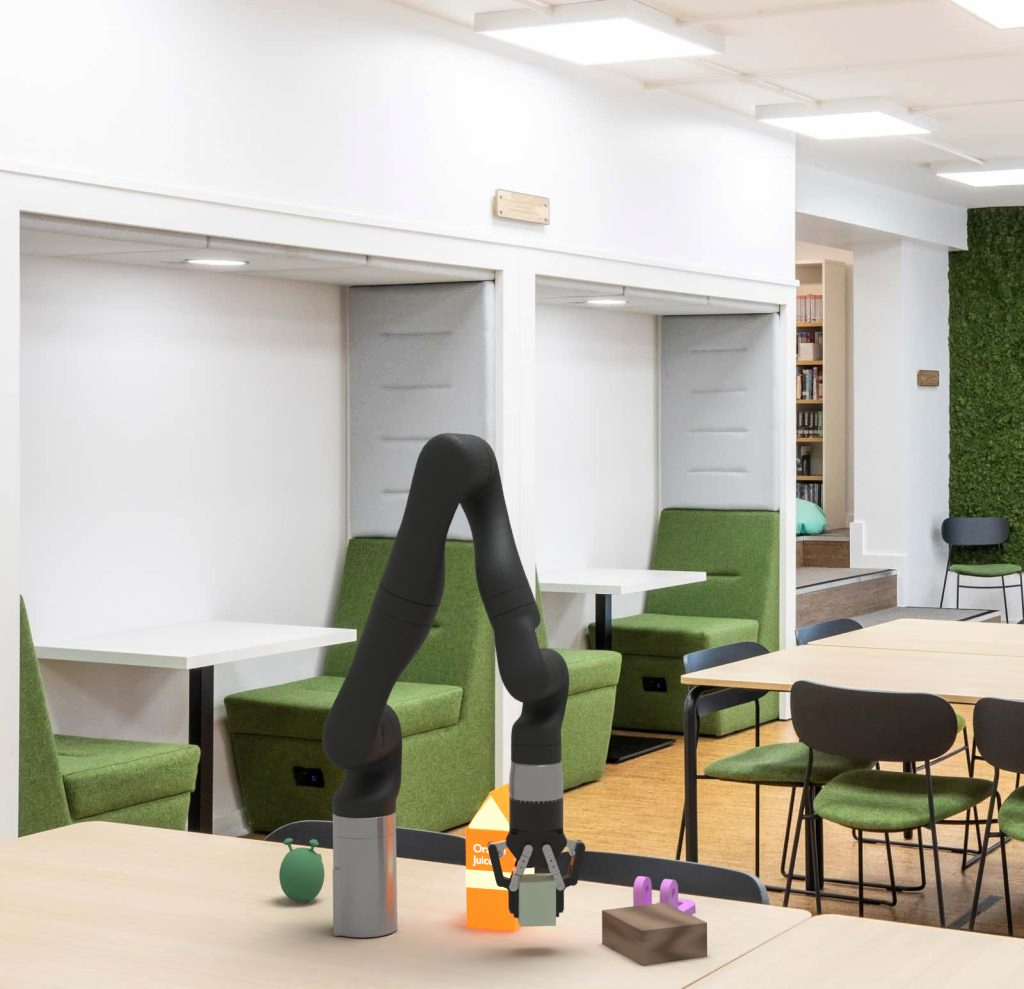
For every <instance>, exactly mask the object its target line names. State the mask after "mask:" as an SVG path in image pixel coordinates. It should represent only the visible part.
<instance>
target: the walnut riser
mask: <svg viewBox="0 0 1024 989" xmlns="http://www.w3.org/2000/svg"><path fill="white" fill-rule="evenodd" d="M656 903H657V902H656ZM656 903H652V904H648V905H640V906H633V905H632V906H627V907H617V908H608V909H602V910H601V945H604V946H605V947H608V948H609V949H611V950H613V951H614V952H616V953H618V954H620V955H622V956H623V957H626V958H627V959H629V960H631V961H633V962H635V963H637V964H638V965H640V966H642V967H646V966H652V965H660V964H666V963H672V962H674V963H675V962H679V961H688V960H694V959H700V958H701V959H702V958H707V957H708V922H706V921H705V920H702V919H700V918H699V917H696V916H694V915H693V914H692V915H690V914H688V913H686V912H683V911H681V910H679V909H677V908H675V907H673V906H671V905H668V904H666V903H657V904H656Z"/></svg>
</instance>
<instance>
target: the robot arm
mask: <svg viewBox="0 0 1024 989" xmlns="http://www.w3.org/2000/svg"><path fill="white" fill-rule="evenodd" d="M411 478H412V479H411V483H410V487H409V492H408V495H407V501H406V504H405V508H404V512H403V515H402V519H401V523H400V525H399V527H398V530H397V534H396V536H395V538H394V541H393V544H392V547H391V550H390V554H389V557H388V559H387V563H386V565H385V567H384V571H383V573H382V576H381V578H380V580H379V584H378V586H377V588H376V590H375V595H374V597H373V599H372V604H371V607H370V609H369V612H368V616H367V618H366V622H365V625H364V627H363V630H362V633H361V635H360V638H359V642H358V644H357V647H356V650H355V653H354V657H353V659H352V661H351V664H350V667H349V669H348V671H347V674H346V676H345V678H344V680H343V682H342V685H341V687H340V689H339V691H338V693H337V695H336V697H335V699H334V701H333V704H332V706H331V708H330V710H329V712H328V714H327V717H326V718H325V721H324V725H323V728H322V734H321V735H322V736H321V742H322V749H323V751H324V754H325V756H326V758H327V760H328V761H329V762H330V764H332V766H335V767H337V768H339V769H342V770H345V775H344V778H343V781H342V782H341V783H340V786H339V787H338V788H337V789H336V791H335V792H334V794H333V796H332V853H333V854H332V856H333V857H332V858H333V859H332V860H333V862H332V864H333V865H332V921H333V922H332V924H333V925H332V926H333V927H332V930H333V934H332V935H333V936H334V937H335V936H342V937H347V938H348V937H350V938H373V937H374V938H376V937H382V936H386V935H389V934H392V933H394V932H396V930H398V885H397V884H398V882H397V881H398V880H397V876H398V875H397V872H398V871H397V867H398V866H397V799H398V796H399V793H400V791H401V785H402V769H403V768H402V767H403V765H402V764H403V732H402V725H401V722H400V719H399V716H398V714H397V713H396V711H395V710H394V708H392V706H390V704H388V701H389V698H390V696H391V694H392V693H391V692H392V690H393V689H394V686H395V685H396V683H397V681H398V680H399V678H400V677H401V676H402V674H403V673H404V671H405V670H406V669H407V667H408V666H409V664H410V663H411V662H412V660H413V659H414V658H415V656H416V655H417V654H418V652H419V650H420V649H421V647H422V646H423V644H424V643H425V641H426V639H427V638H428V636H429V634H430V632H431V629H432V627H433V624H434V622H435V619H436V617H437V613H438V612H439V609H440V605H441V602H442V600H443V595H444V591H445V586H446V585H445V584H446V544H447V538H448V533H449V530H450V527H451V525H452V522H453V520H454V517H455V514H456V512H457V509H458V508H459V505H460V507H461V508H462V510H463V513H464V515H465V517H466V520H467V522H468V526H469V529H470V532H471V536H472V542H473V552H474V570H475V578H476V579H475V580H476V585H477V588H478V594H479V595H480V598H481V599H480V600H481V601H482V604H483V607H484V609H485V610H484V611H485V613H486V615H487V619H488V621H489V624H490V626H491V627H492V628H491V629H492V631H493V636H494V647H495V654H496V661H497V668H498V671H499V672H498V673H499V675H500V679H501V681H502V684H503V686H504V688H505V690H506V691H507V693H508V694H509V695H510V696H511V697H512V698H513V699H514V700H516V701H517V702H520V703H522V704H521V705H522V706H521V712H520V715H519V717H518V718H517V719H516V720H515V721H514V723H513V725H512V726H511V733H510V768H509V769H510V770H509V776H508V778H509V780H508V783H509V787H508V790H509V833H508V835H507V837H506V840H503V841H499V842H493V841H490V842H488V844H487V848H488V852H489V856H490V860H491V864H492V868H493V872H494V877H495V881H496V884H497V886H499V887H504V888H506V889H507V890H508V909H509V911H510V914H513V916H514V918H519V891H518V886H519V881H521V878H522V876H523V874H524V872H525V869H526V868H534V869H535V868H540V869H548V870H549V872H550V873H551V875H552V877H553V880H555V881H556V918H560V914H563V913H564V910H565V890H566V889H568V887H571V886H573V887H575V886H576V885H577V884H578V882H579V879H580V878H579V877H580V874H581V869H582V865H583V860H584V856H585V852H586V845H585V843H584V841H583V840H581V839H577V840H573V839H569V838H567V837H566V834H565V832H564V773H563V766H562V764H563V763H562V726H563V722H564V718H565V714H566V709H567V703H568V697H569V693H570V692H569V690H570V673H569V672H570V671H569V668H568V664H567V662H566V660H565V659H564V657H563V656H562V654H560V652H558V651H557V650H555V649H552V648H548V647H541V648H540V646H539V641H538V637H537V628H538V627H539V626H540V624H541V620H542V619H541V613H540V609H539V607H538V604H537V601H536V599H535V595H534V593H533V591H532V587H531V585H530V582H529V579H528V577H527V574H526V571H525V569H524V565H523V563H522V560H521V558H520V554H519V551H518V546H517V543H516V541H515V537H514V534H513V533H514V532H513V529H512V525H511V521H510V517H509V511H508V508H507V503H506V500H505V494H504V490H503V484H502V479H501V473H500V468H499V465H498V460H497V456H496V454H495V451H494V450H493V448H492V446H491V445H490V444H489V442H487V441H486V440H485V439H483V438H482V437H480V436H477V435H474V434H471V433H470V434H467V433H455V432H445V433H439V434H437V435H434V436H432V438H430V439H429V440H428V441H426V443H425V444H424V446H422V448H421V450H420V452H419V454H418V457H417V460H416V464H415V468H414V470H413V475H412V477H411ZM566 847H567V850H568V851H567V852H568V853H569V855H570V857H571V859H570V863H569V868H568V870H567V875H564V876H562V875H561V871H560V868H559V866H558V862H557V859H558V858H559V857H560V855H561V853H562V852H563V851H564V850H565V848H566ZM505 848H508V849H509V850H510V852H511V853H512V854H513V856H514V857H515V858H516V860H515V863H514V865H513V869H512V872H511V875H510V878H508V877H505V876H503V872H502V868H501V863H500V859H499V858H501V857H503V855H504V850H505Z"/></svg>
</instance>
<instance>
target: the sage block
mask: <svg viewBox="0 0 1024 989" xmlns="http://www.w3.org/2000/svg"><path fill="white" fill-rule="evenodd" d="M518 891H519V918H517V920H518V923H519V926H520V927H521V928H522V927H523V928H524V927H525V928H526V927H556V926H557V917H556V881H555V880H553V877H552V875H551V872H550V873H534V874H523V876H522V878H521V881H519V886H518Z"/></svg>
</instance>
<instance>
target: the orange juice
mask: <svg viewBox="0 0 1024 989" xmlns="http://www.w3.org/2000/svg"><path fill="white" fill-rule="evenodd" d="M508 787H509V782H507V783H506V784H504V785H501V786H500V787H498V788H495V789H493V790H491V791H489V792H488V793H489V794H488V796H487V797H486V798H485V800H484V801H483V802H482V804H481V806H480V808H479V809H478V811H477V812H476V814H474V816H473V818H472V820H471V821H470V823H469V824H468V825H467V827H466V828H465V889H466V892H465V893H466V900H465V901H466V904H465V905H466V928H467V929H477V930H485V931H486V930H489V931H500V932H501V931H502V932H509V933H510V932H512V933H516V932H517V931H518V930H520V929H521V928H522V927H520V926H519V923H518V920H517V918H514V916H513V914H510V911H509V909H508V890H507V889H506V888H504V887H499V886H497V884H496V881H495V877H494V872H493V868H492V864H491V860H490V856H489V852H488V848H487V844H488V842H490V841H493V842H499V841H503V840H506V837H507V835H508V833H509V790H508ZM499 859H500V863H501V868H502V872H503V876H505V877H508V878H510V875H511V872H512V869H513V865H514V863H515V860H516V858H515V857H514V856H513V854H512V853H511V852H510V850H509V849H508V848H505V850H504V855H503V857H501V858H499ZM524 874H535V867H534V868H526V869H525V872H524Z"/></svg>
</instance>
